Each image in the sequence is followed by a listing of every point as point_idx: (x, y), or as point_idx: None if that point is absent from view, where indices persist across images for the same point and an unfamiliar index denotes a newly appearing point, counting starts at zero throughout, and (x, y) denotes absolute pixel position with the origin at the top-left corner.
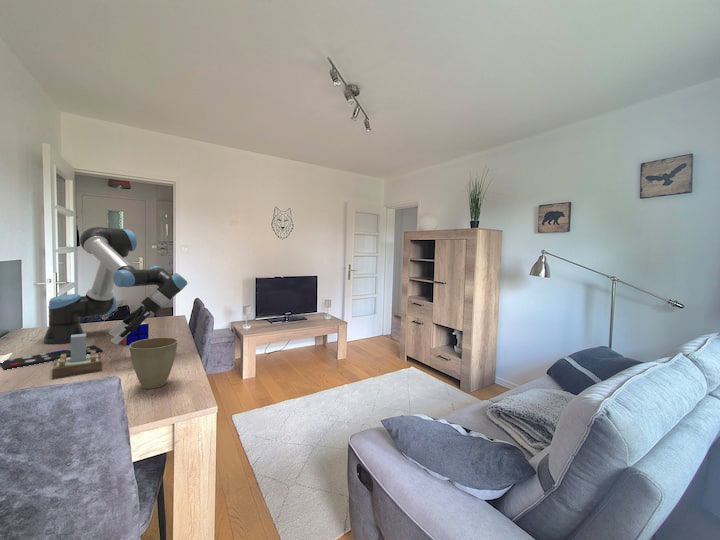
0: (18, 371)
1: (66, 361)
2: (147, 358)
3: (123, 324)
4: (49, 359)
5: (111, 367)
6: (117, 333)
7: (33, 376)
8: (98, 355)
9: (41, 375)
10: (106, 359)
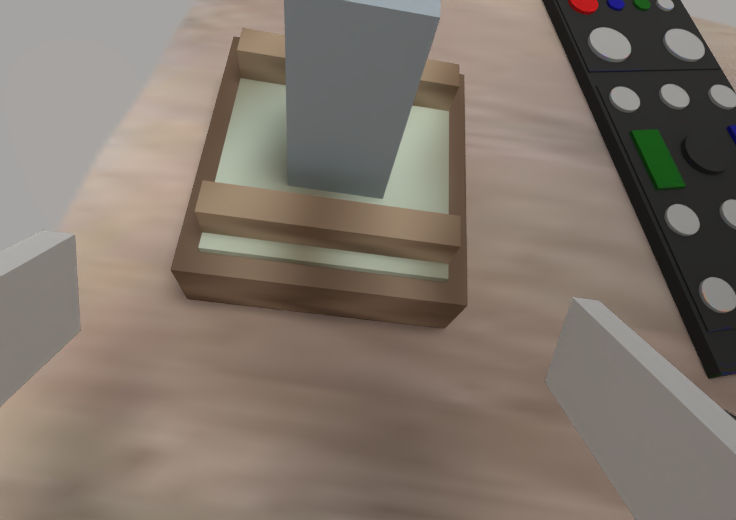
0: (488, 16)
1: None
2: None
3: (711, 515)
4: (606, 105)
5: (221, 368)
6: (575, 413)
7: None
8: (403, 281)
9: None
10: (475, 371)
